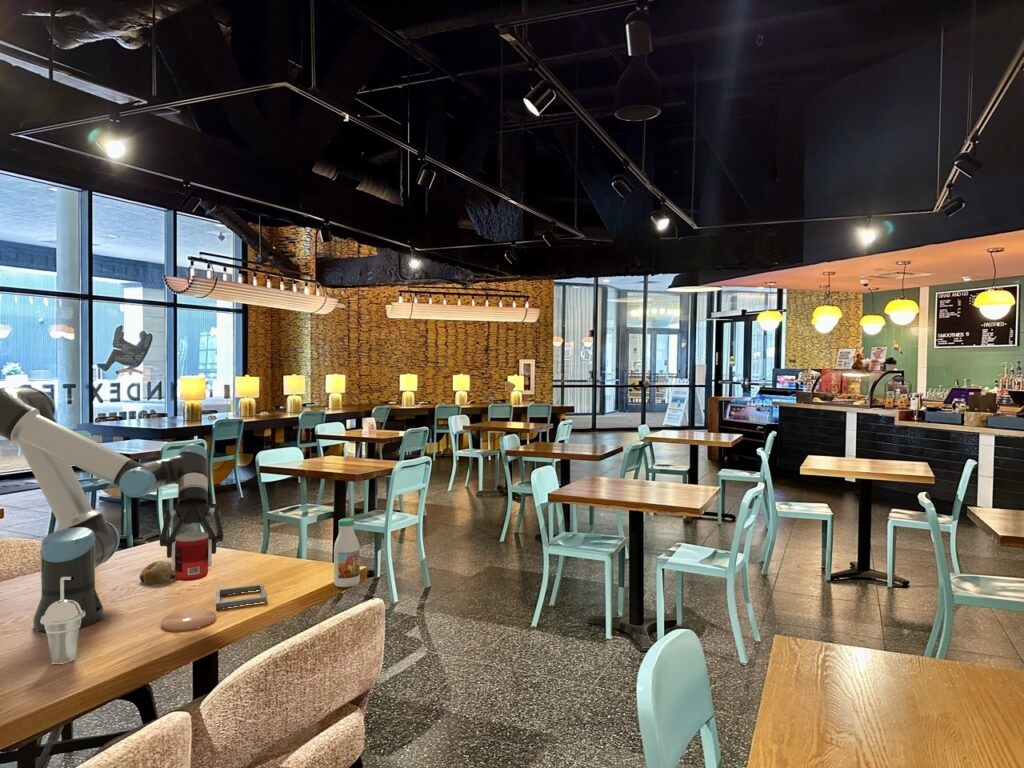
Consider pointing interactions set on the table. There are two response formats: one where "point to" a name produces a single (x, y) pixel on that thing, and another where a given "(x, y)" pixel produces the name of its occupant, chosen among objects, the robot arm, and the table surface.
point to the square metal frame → (242, 601)
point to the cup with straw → (63, 626)
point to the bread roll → (157, 573)
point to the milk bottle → (346, 555)
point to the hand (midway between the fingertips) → (191, 565)
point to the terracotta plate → (187, 620)
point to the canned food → (191, 556)
